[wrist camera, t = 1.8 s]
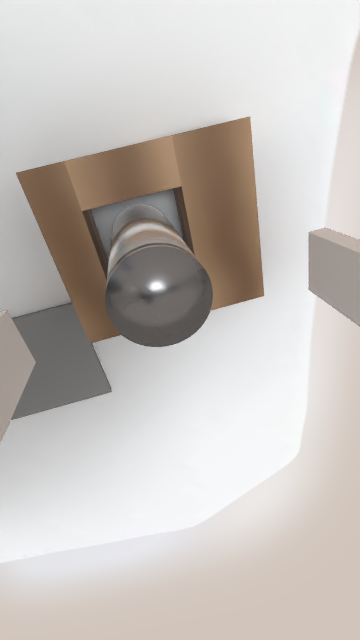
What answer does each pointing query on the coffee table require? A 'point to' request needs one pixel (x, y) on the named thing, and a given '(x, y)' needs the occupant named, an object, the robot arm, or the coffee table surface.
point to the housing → (146, 178)
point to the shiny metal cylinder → (154, 280)
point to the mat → (58, 361)
